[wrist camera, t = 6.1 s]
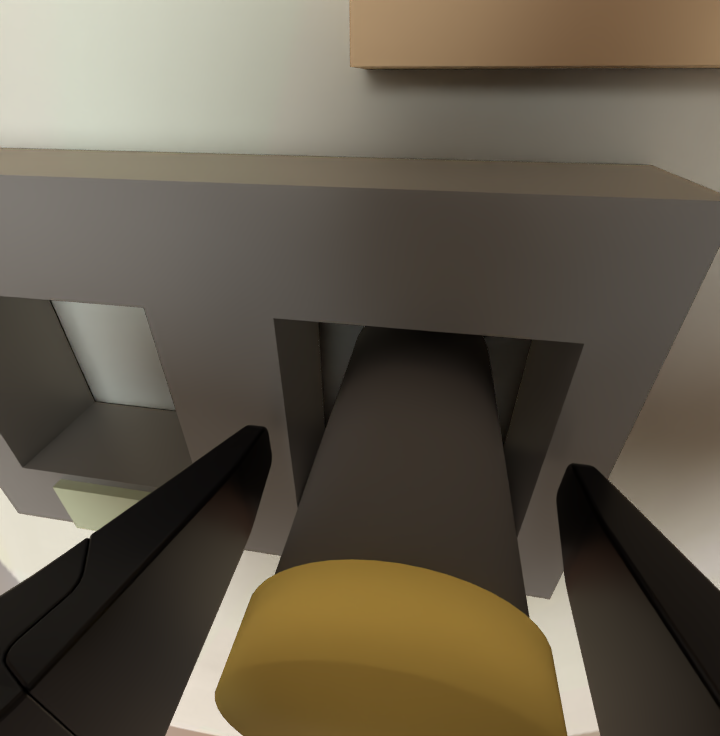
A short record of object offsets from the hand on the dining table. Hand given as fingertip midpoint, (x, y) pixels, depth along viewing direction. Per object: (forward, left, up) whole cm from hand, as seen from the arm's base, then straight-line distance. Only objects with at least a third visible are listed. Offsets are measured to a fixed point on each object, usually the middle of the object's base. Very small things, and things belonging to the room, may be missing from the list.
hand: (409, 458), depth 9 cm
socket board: (+4, 0, -4) cm, 5 cm away
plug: (0, 0, -4) cm, 4 cm away
